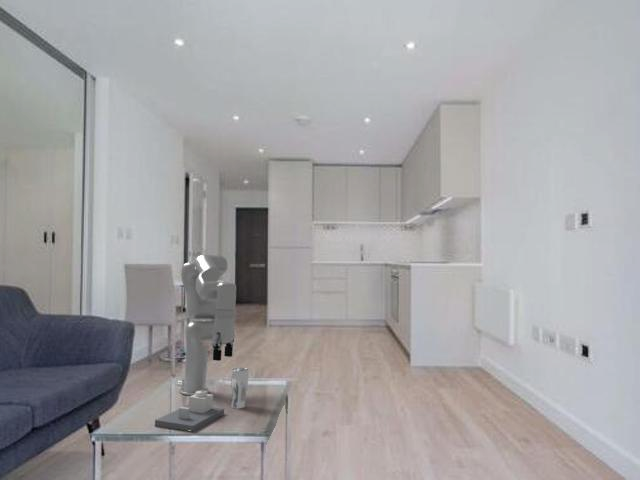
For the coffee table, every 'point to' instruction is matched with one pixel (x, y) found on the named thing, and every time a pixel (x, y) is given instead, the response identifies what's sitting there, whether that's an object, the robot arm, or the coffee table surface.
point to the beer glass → (239, 387)
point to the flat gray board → (188, 418)
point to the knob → (200, 402)
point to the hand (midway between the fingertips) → (222, 358)
